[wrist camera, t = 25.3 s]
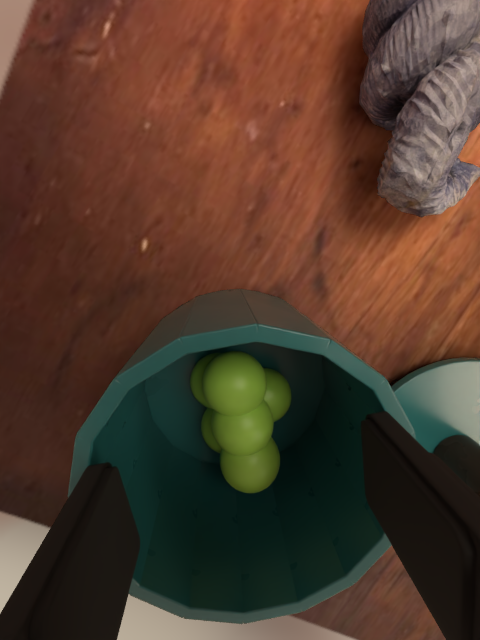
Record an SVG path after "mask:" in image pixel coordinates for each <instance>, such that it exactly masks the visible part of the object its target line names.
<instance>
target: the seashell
mask: <svg viewBox="0 0 480 640" xmlns="http://www.w3.org/2000/svg"><path fill="white" fill-rule="evenodd" d="M362 34H363V43H362V44H363V50H364V52H365V53H366V55H367V56H368V58H369V60H368V63H367V66H366V69H365V73H364V77H363V80H362V82H361V85H360V99H359V104H360V105H361V107H362V108H363V109H364V111H365V112H366V114H367V115H368V117H369V118H370V120H371V121H372V123H373V124H375V125H378V126H380V127H383V128H384V129H385V130H393V131H392V136H393V137H392V138H391V139H390V140H389V141H388V149H387V151H386V152H385V153H384V155H385V157H386V158H385V159H384V160H383V161H382V162H381V163H382V165H383V166H382V167H381V168H380V169H379V172H380V174H379V176H378V178H377V181H378V187H377V189H378V195H379V196H381V198H385V199H386V200H387V202H388V203H390V204H391V205H392V206H394V207H395V208H397V209H398V210H400V211H401V212H405V213H410V214H414V215H417V216H419V217H424V216H426V215H436V214H441V213H443V212H444V211H445V210H446V209H447V208H449V207H452V206H454V205H456V204H457V202H458V201H460V200H461V199H462V198H463V197H464V196H465V195H466V193H467V191H468V190H469V188H470V187H471V186H472V184H473V183H474V182H475V181H476V180H477V178H478V177H479V176H480V168H479V167H477V166H475V165H473V164H469V163H465V162H461V161H460V160H459V158H457V157H458V156H459V154H460V152H461V150H462V148H463V146H464V144H465V143H466V141H467V139H468V136H469V133H470V132H471V131H472V130H474V129H475V128H476V127H477V125H478V124H479V123H480V0H370V2H369V4H368V6H367V9H366V11H365V17H364V22H363V27H362Z"/></svg>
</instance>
